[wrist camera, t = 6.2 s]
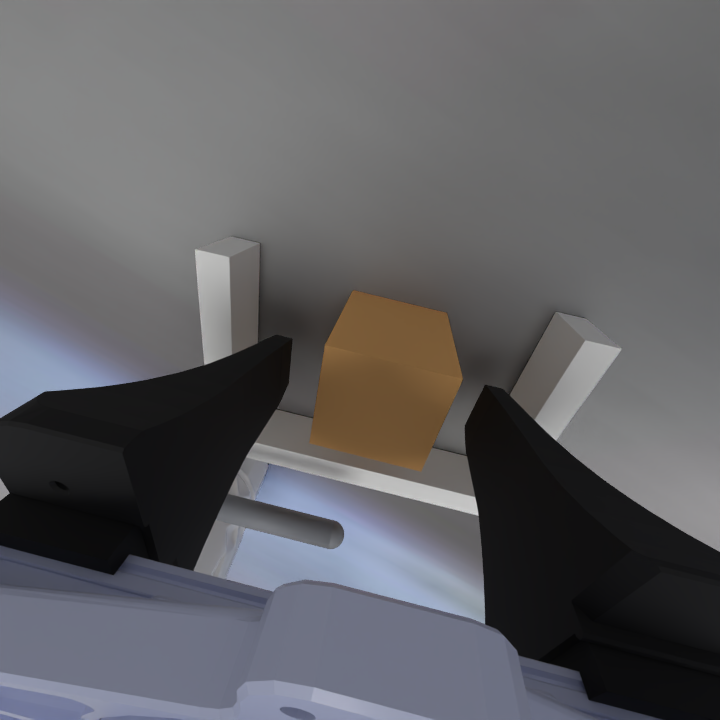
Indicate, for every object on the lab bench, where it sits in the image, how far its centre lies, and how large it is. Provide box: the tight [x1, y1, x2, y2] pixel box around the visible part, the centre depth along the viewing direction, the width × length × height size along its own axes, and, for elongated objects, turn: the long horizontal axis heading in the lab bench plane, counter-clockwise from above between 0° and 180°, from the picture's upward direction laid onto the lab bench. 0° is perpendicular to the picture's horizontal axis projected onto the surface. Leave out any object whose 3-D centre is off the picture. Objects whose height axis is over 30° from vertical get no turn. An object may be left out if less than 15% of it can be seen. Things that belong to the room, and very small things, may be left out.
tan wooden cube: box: [309, 290, 463, 472], centre depth 12 cm, size 4×4×5 cm
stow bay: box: [195, 237, 622, 549], centre depth 13 cm, size 14×10×6 cm
